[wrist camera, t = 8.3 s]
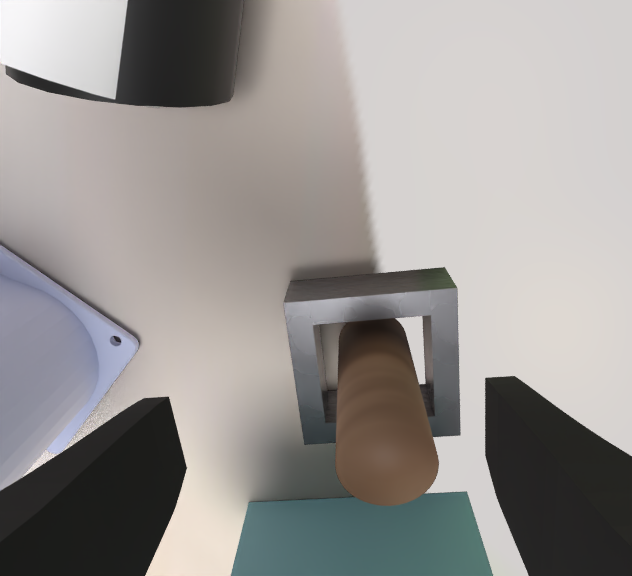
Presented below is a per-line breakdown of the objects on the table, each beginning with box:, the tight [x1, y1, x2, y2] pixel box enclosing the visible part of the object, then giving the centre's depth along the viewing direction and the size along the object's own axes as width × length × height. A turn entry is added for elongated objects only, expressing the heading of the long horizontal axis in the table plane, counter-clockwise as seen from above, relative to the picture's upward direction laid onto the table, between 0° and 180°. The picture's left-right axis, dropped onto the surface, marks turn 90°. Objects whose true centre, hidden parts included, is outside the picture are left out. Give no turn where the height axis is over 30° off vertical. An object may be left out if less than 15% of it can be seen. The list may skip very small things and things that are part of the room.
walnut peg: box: [335, 318, 439, 506], centre depth 18 cm, size 3×3×8 cm
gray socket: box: [283, 267, 460, 445], centre depth 21 cm, size 6×6×2 cm
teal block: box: [231, 492, 493, 576], centre depth 19 cm, size 11×5×11 cm, turn 97°
